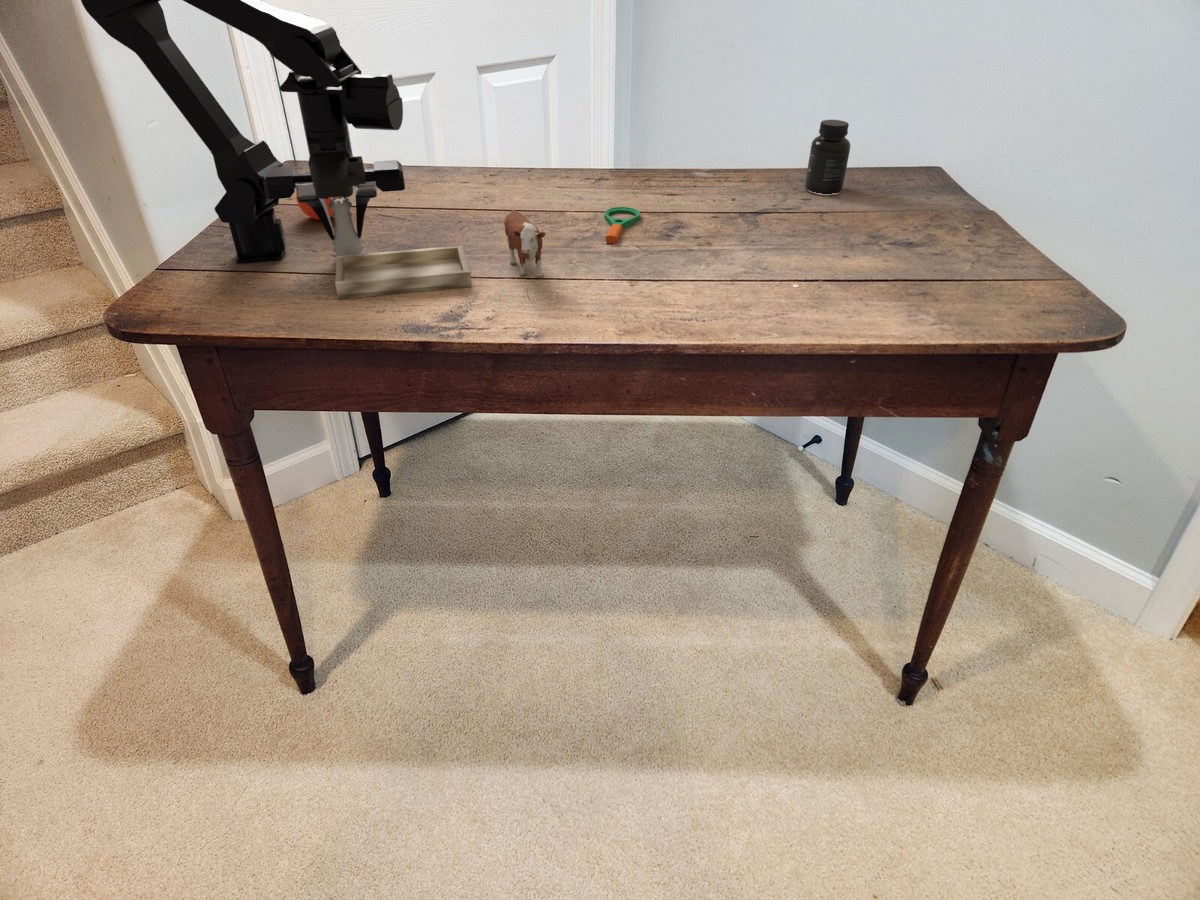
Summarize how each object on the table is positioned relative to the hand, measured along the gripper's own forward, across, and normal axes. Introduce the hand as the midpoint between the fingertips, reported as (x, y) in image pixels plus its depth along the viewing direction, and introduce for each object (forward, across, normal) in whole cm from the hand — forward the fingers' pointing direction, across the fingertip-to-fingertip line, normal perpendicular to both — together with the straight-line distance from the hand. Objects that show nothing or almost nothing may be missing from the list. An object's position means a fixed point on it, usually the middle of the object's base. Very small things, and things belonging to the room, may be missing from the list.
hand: (346, 238), depth 116 cm
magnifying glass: (+4, +43, +4) cm, 43 cm away
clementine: (+4, -5, +19) cm, 20 cm away
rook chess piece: (+2, 0, 0) cm, 2 cm away
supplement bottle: (+3, +85, +14) cm, 86 cm away
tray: (+3, +8, -9) cm, 12 cm away
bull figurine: (+4, +25, -10) cm, 27 cm away
